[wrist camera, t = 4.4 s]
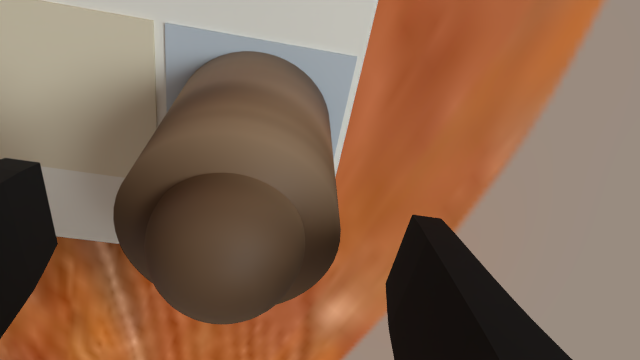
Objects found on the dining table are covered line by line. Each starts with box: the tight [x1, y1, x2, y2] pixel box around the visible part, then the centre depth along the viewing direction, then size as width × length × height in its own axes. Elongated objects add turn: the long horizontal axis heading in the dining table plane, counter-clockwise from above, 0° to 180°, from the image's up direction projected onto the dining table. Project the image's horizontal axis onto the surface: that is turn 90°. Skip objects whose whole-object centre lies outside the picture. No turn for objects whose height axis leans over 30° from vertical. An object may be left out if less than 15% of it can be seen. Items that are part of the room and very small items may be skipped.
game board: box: [0, 0, 378, 244], centre depth 12 cm, size 11×16×1 cm
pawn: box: [113, 51, 341, 324], centre depth 10 cm, size 4×4×6 cm
